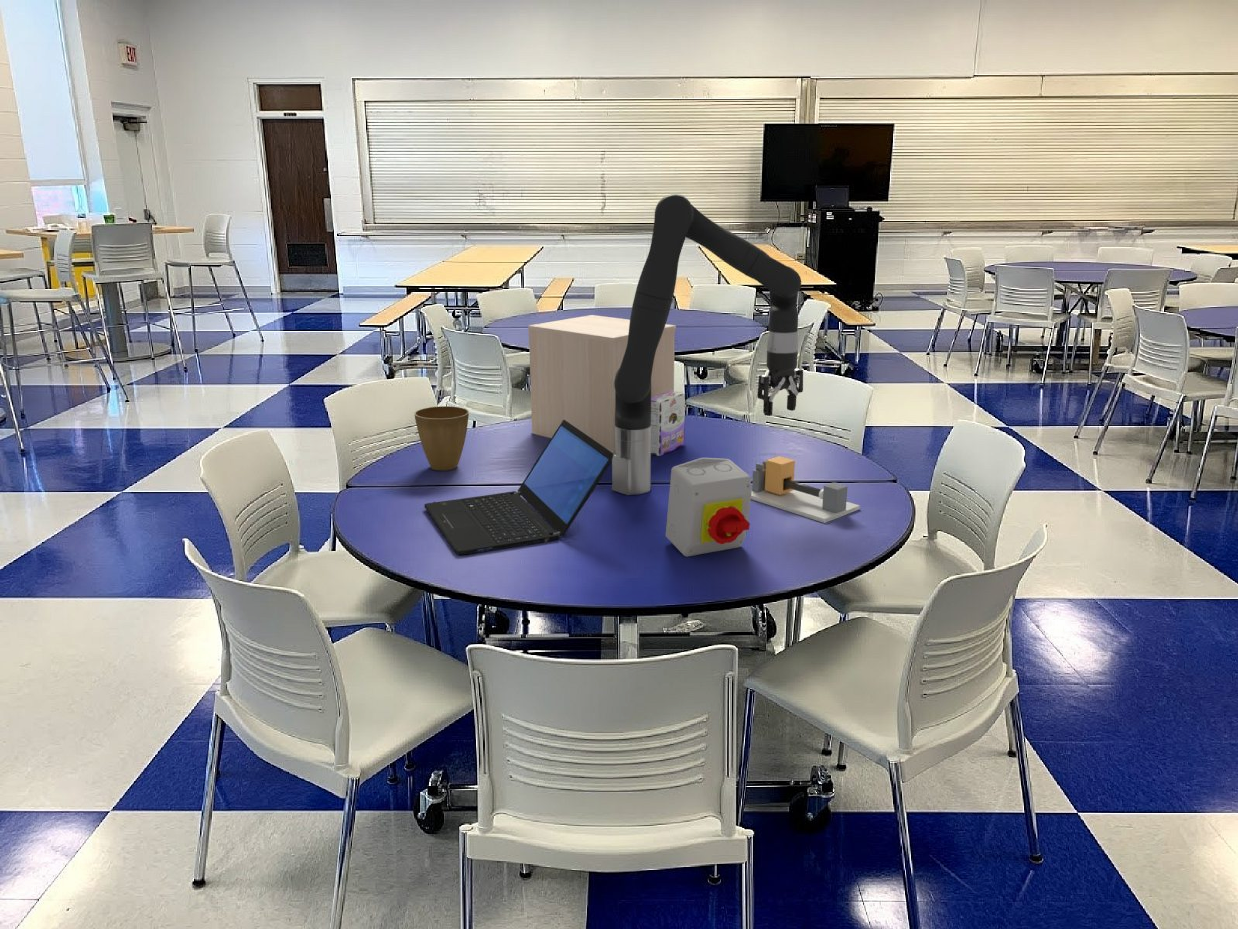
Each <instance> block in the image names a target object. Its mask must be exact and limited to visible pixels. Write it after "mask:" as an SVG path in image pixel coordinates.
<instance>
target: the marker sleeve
mask: <svg viewBox="0 0 1238 929" xmlns="http://www.w3.org/2000/svg"><path fill="white" fill-rule="evenodd" d="M765 461H766V475H765V490H766V491H769V492H772V493H776V494H779V495H781V494H784V493H787V492H790V491H793V489H790V488H786V487H783V480H784V479H787V480H791V481H794V482H795V466H796V464H795V463H796V461H795V459H791V458H787V457H783V456H780V455H778V456H775V457H772V458H769V459H766V460H765Z"/></svg>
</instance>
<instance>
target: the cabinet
mask: <svg viewBox="0 0 1238 929" xmlns="http://www.w3.org/2000/svg"><path fill="white" fill-rule="evenodd" d="M629 324H630V319H627V318H626V319H625V318H621V317H619V318H618V317H610V316H604V315H603V316H602V315H595V314H589V315H584V316H577V317H571V318H566V319H565V318H564V319H561V320H560V319H559V320H554V321H548V322H547V321H546V322H542V323H536V324H529V325H527V330H528V345H529V346H528V347H529V348H528V350H529V352H528V353H529V372H530V373H529V377H530V378H529V379H530V403H531V404H530V411H531V430H530V431H531V434H533V435H537V436H541V437H545V438H549V439H551V438H552V436H553V435H554V433H555V432H556V430H557V429H558V427H559V426H560V424H561V423H562V421H563V420H566V421H567V422H569V423H570V424H572V425H573V426H574V427H576V428H577V429H579V430H580V431H582V432H583V433H585V434H586V435H588V436H589V437H590V438H592V439H593V440H595V441H596V442H598V443H599V444H601V445H602V446H604V447H605V448H606V449H608V450H609V451H611V452H612V453H613V454H614V455H615V387H614V381H615V376H616V373H617V371H618V369H619V368H620V366H621V363H622V360H623V357H624V354H625V351H626V347H627V342H628V334H629ZM676 330H677V326H676V325H674V324H667V323H666V325H665V328H664V331H663V333H662V336H661V339H660V341H659V344H658V347H657V349H656V353H655V357H654V363H653V369H652V376H651V398H652V397H654V396H657V395H660V394H663V393H666V392H668V391H674V392H675V342H676V341H675V339H676V338H675V337H676V336H675V332H676Z"/></svg>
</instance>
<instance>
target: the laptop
mask: <svg viewBox="0 0 1238 929" xmlns="http://www.w3.org/2000/svg"><path fill="white" fill-rule="evenodd" d="M549 439H550V440H549V441H548V443H547V444H546V445H545V448H543V450H542V451H541V453H540V455H539V456H538V458H537V460H535V463H534V464H533V466H532V467H531V469H530V471H529V472H528V474H527V476H526V477H525V479H524V480H523V481H522V483H521V485H520V486H519V488H518V489H517V491H515V490H514V491H513V490H511V491H507V492H506V491H504V492H497V493H493V494H485V495H479V496H472V497H465V498H457V499H449V500H442V501H441V500H440V501H436V502H435V501H434V502H428V503H424V504H423V506H424V509H425V511H427V512H426V513H428V514H429V515H430V517H431V518H432V520H433V521H434V523H435V525H436V526H437V529H439V530H440V532H441V533H442V534H443V536H444V537H445V539H446V541H447V543H448V544H449V545H450V546H451V549H452V550H453V551H454V552H455V553H456V555H459V556H467V555H472V554H479V553H486V552H490V551H494V550H501V549H508V548H513V547H520V546H526V545H532V544H537V543H538V544H539V543H549V542H550V541H556V540H559V539H560V537H563V536H565V534H566V533H567V532H568V530H569V529H570V527H571V526H572V524H573V522H575V520H576V518H577V517H578V514H579V513H580V512H581V510H582V509H583V507H584V506H585V504H586V502H587V501H588V499H589V498H590V497H591V495H592V494H593V492H594V490H595V488H596V487H597V486H598V484H599V482H600V481H601V479H602V478H603V476H604V475H605V473H606V471H607V470H608V468H609V467H610V465H612V458H613V455H615V454H613V453H612V452H611V451H609V450H608V449H606V448H605V447H604V446H602V445H601V444H599V443H598V442H596V441H595V440H593V439H592V438H590V437H589V436H588V435H586V434H585V433H583V432H582V431H580V430H579V429H577V428H576V427H574V426H573V425H572V424H570V423H569V422H567V421H566V420H563V421H562V423H561V424H560V426H559V427H558V429H557V430H556V432H555V433H554V435H553V436H552V438H549Z"/></svg>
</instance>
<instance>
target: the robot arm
mask: <svg viewBox="0 0 1238 929" xmlns="http://www.w3.org/2000/svg"><path fill="white" fill-rule="evenodd" d="M653 218H654V219H653V229H652V236H651V241H650V246H649V247H650V248H649V251H648V254H647V257H646V260H645V263H644V265H643V268H642V271H641V272H640V276H639V279H638V282H637V285H636V289H635V293H634V296H633V297H634V298H633V302H632V306H631V311H630V318H629V320H630V324H629V334H628V342H627V347H626V351H625V354H624V357H623V360H622V363H621V366H620V368H619V369H618V371H617V373H616V376H615V381H614V387H615V454H614V455H613V458H612V462H611V478H612V479H611V482H612V483H611V484H612V485H611V490H612V491H614V492H618V493H620V494H622V495H625V496H630V495H631V496H632V495H642V494H646V493H648V492H650V490H651V468H652V467H651V456H652V454H651V376H652V369H653V363H654V357H655V353H656V349H657V347H658V344H659V341H660V339H661V336H662V333H663V331H664V328H665V325H666V324H667V321H668V319H669V316H670V315H669V314H670V311H671V307H672V304H673V303H672V302H673V299H674V295H675V290H676V283H677V278H678V267H679V262H680V256H681V253H682V250H683V247H684V246H683V245H684V243H685V240H686V239H688V240H691V241H693V242H694V243H696V244H698V245H700V246H701V247H703V248H705V249H707V250H708V251H709V252H711V253H712V254H714V255H715V256H716V257H717V258H719V259H720V260H721V261H723V262H724V263H726V264H727V265H729V266H730V267H732V268H734V269H735V270H737V271H738V272H740V273H742V274H743V275H745V276H746V277H748V278H751V279H753V280H754V281H757V282H758V283H759V284H761V285H762V286H763V287H764V288H765V289H768V290H769V305H770V306H769V307H770V309H769V316H768V317H769V318H768V319H769V320H768V334H767V343H766V344H767V345H766V367H767V369H768V374H767V375H764V374H760V375H758V382H757V383H758V385H757V396H756V397H757V399H758V400H762V402H763V410H762V411H763V414H764V416H768V417H772V415H773V407H774V406H773V404H774V401H773V400H774V398H775V396H776V395H777V394H778V393H779V392H780V391H783V390H786V392H787V394H788V395H786V396H787V397H786V409H787V410H788V411H791V412H793V411H796V407H797V396H798V395H799V394H800V393H802V392H804V369H800V368H797V367H798V357H799V356H798V353H799V351H798V349H799V334H798V333H799V332H798V331H799V330H798V329H799V328H798V326H799V310H798V307H797V306H798V305H797V304H798V303H797V302H798V293H799V291H800V290H801V286H802V279H801V275H800V274H799V273H798V272H797V271H796V270H795V269H794V268H793V267H791V266H788V265H786V264H784V263H782V262H781V261H778V260H777V259H775V258H773V257H771V256H770V255H769V254H768V253H767V252H765V251H764V250H762V249H761V248H759V247H758V246H756V245H755V244H753V243H751V242H750V241H748V240H746V239H745V238H743V237H741V236H739V235H737V234H736V233H733V232H731V231H730V230H728V229H726V228H724V227H722V226H720V225H719V224H718V223H715V221H713V220H712V219H709V217H707V216H705V214H703V213H702V212H701V211H700V210H698V208H696V207H695V206H694V205H693V204H692V203H691V201H690V200H689V199H688V198H687V197H685V195H682V194H679V193H669V194H668V195H665V196H663V197H662V198H661V199H660V200H659V201H658V203H657V204H656V205H655V209H654V217H653Z"/></svg>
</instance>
